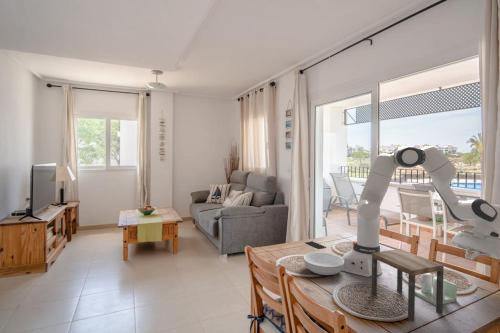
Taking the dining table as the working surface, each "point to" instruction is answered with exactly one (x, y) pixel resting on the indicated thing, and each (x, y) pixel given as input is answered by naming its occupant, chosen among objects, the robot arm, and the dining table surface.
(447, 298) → the glasses tray
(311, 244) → the smartphone
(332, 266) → the serving bowl
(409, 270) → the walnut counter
